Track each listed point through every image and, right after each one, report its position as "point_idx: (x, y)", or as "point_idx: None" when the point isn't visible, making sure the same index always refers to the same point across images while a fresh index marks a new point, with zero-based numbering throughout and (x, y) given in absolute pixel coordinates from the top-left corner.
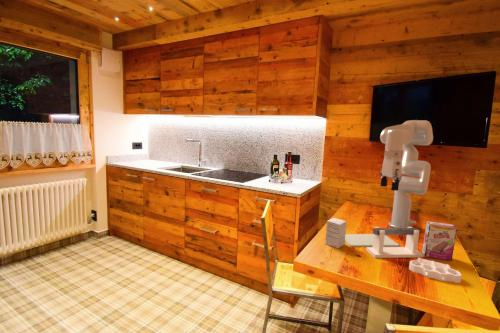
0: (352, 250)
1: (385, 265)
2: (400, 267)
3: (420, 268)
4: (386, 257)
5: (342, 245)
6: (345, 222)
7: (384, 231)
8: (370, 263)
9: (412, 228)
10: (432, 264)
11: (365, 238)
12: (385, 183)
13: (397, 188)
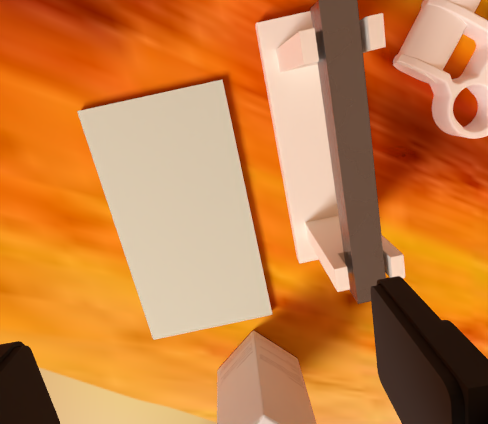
0: (308, 310)
1: (427, 220)
2: (442, 167)
3: None
4: None
5: (270, 341)
6: (274, 417)
7: (402, 257)
8: (414, 271)
9: (330, 40)
10: (468, 25)
11: (177, 233)
12: (5, 414)
13: (446, 320)
